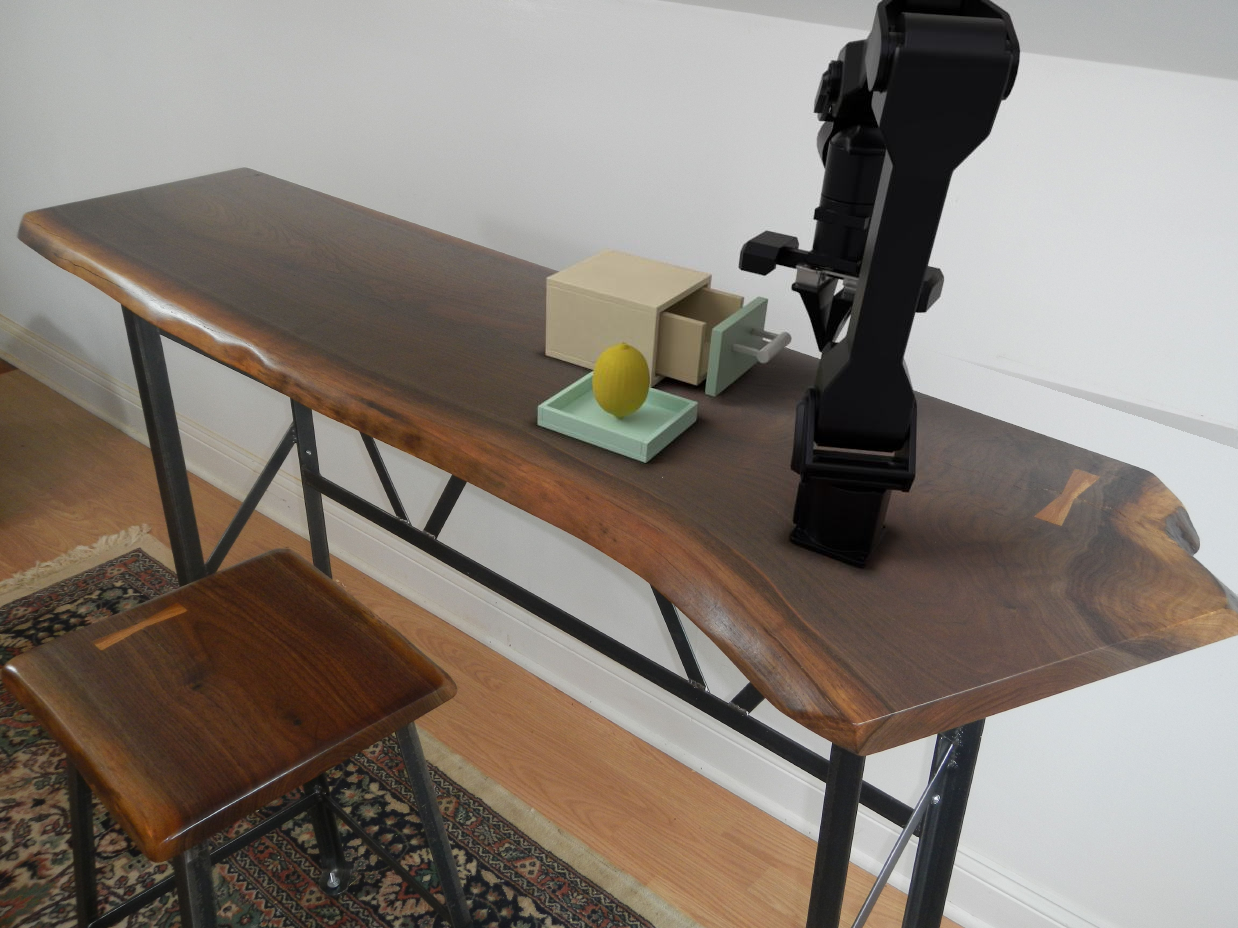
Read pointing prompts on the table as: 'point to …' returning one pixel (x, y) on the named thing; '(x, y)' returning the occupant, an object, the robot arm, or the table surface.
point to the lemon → (621, 380)
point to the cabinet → (613, 306)
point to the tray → (618, 420)
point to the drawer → (714, 338)
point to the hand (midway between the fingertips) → (824, 351)
